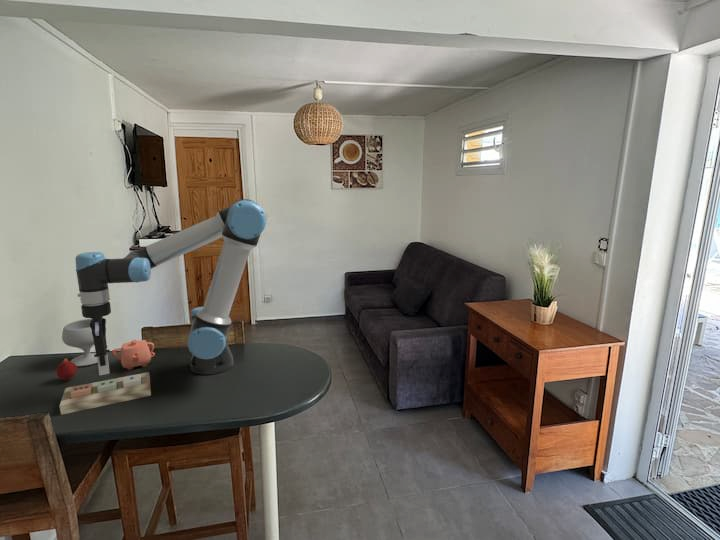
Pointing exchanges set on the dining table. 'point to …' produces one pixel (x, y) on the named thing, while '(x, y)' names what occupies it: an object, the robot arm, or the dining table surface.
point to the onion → (66, 370)
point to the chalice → (80, 341)
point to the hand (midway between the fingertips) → (104, 373)
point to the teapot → (135, 354)
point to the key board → (105, 396)
